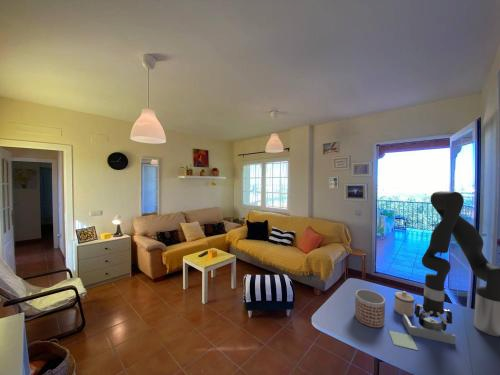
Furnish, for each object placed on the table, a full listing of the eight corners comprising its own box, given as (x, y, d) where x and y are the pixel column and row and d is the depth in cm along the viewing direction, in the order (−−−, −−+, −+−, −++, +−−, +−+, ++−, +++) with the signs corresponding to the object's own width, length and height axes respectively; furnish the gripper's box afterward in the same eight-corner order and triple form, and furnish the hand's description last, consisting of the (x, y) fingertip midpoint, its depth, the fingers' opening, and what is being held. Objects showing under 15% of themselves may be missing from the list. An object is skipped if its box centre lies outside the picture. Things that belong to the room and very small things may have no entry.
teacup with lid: (417, 317, 113) (418, 297, 112) (399, 316, 114) (400, 295, 113) (404, 304, 125) (405, 285, 124) (387, 303, 126) (388, 284, 125)
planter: (389, 330, 104) (390, 305, 103) (359, 326, 107) (360, 302, 106) (378, 312, 117) (378, 290, 117) (351, 309, 120) (352, 287, 119)
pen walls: (443, 328, 105) (443, 321, 105) (455, 344, 95) (455, 336, 95) (402, 320, 111) (402, 313, 111) (409, 334, 101) (410, 326, 101)
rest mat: (410, 335, 100) (410, 335, 100) (418, 350, 92) (418, 350, 92) (388, 330, 103) (388, 330, 103) (394, 344, 95) (394, 344, 95)
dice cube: (441, 333, 102) (441, 323, 102) (433, 335, 100) (434, 325, 100) (429, 326, 107) (430, 316, 106) (422, 328, 105) (423, 318, 105)
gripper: (448, 295, 104) (446, 326, 105) (413, 289, 109) (411, 319, 110) (456, 303, 97) (454, 336, 98) (419, 297, 102) (417, 328, 103)
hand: (431, 327), depth 104 cm, fingers open, 8 cm apart
